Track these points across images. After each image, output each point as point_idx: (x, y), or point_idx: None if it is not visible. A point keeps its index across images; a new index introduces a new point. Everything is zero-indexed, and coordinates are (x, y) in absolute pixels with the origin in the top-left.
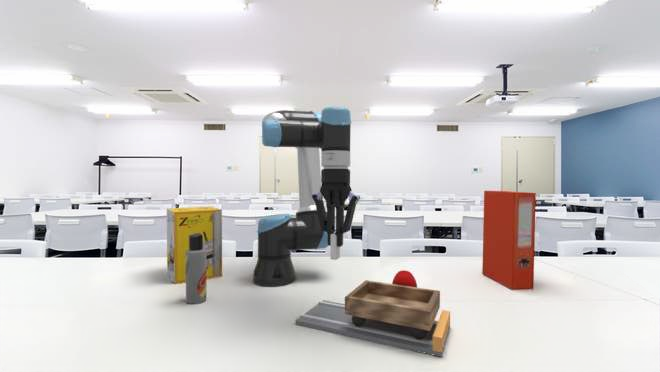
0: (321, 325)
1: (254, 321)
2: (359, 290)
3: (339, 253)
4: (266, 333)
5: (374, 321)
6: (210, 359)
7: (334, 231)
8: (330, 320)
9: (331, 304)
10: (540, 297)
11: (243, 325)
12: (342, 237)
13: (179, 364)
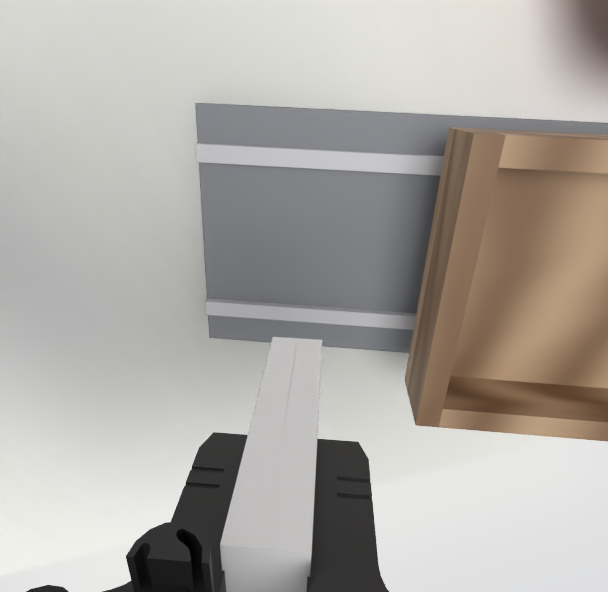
0: None
1: (84, 356)
2: (462, 315)
3: (320, 369)
4: (173, 404)
5: None
6: (152, 519)
7: (210, 569)
8: (330, 316)
9: (267, 164)
10: None
11: (79, 386)
12: (373, 549)
13: (116, 542)
